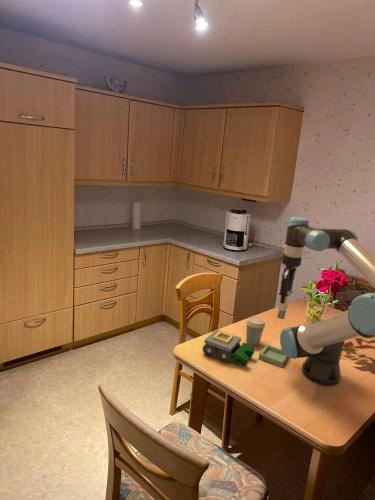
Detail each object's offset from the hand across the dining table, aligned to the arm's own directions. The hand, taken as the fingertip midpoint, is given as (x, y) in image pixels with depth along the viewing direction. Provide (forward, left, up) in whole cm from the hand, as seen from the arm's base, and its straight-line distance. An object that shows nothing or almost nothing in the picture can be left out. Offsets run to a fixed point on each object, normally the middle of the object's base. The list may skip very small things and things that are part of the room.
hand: (282, 308), depth 157 cm
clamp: (+10, +11, -24) cm, 29 cm away
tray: (0, 0, -24) cm, 24 cm away
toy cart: (+20, +12, -24) cm, 33 cm away
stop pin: (0, 0, -4) cm, 4 cm away
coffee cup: (+12, -6, -24) cm, 27 cm away
